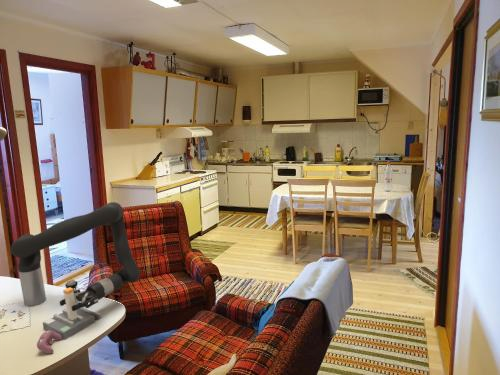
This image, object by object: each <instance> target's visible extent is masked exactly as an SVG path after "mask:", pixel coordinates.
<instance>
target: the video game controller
mask: <svg viewBox="0 0 500 375" xmlns="http://www.w3.org/2000/svg"><path fill="white" fill-rule="evenodd" d="M53 340H55V341H62V340H63V339H62V336H61V335H59V334H57V333H55V332H54V331H50V330H49V331H47V330H45V331H44V332H43V333H42V334H41V335H40V337H39V338H38V341H37V342H36V347H37V349H38V350H39V351H42V352H43V353H46V354H54V349H53V347H51V345H52V344H54V341H53Z"/></svg>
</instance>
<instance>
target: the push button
mask: <svg viewBox="0 0 500 375" xmlns="http://www.w3.org/2000/svg"><path fill="white" fill-rule="evenodd" d="M64 287H65V289H67V288H69V287H70V288H73V289H74V291H76V290H77V287H78V281H76V280H75V279H70V280H68V281H67V282H66V283H65V285H64ZM76 299H78V298H77V297H76Z"/></svg>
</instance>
